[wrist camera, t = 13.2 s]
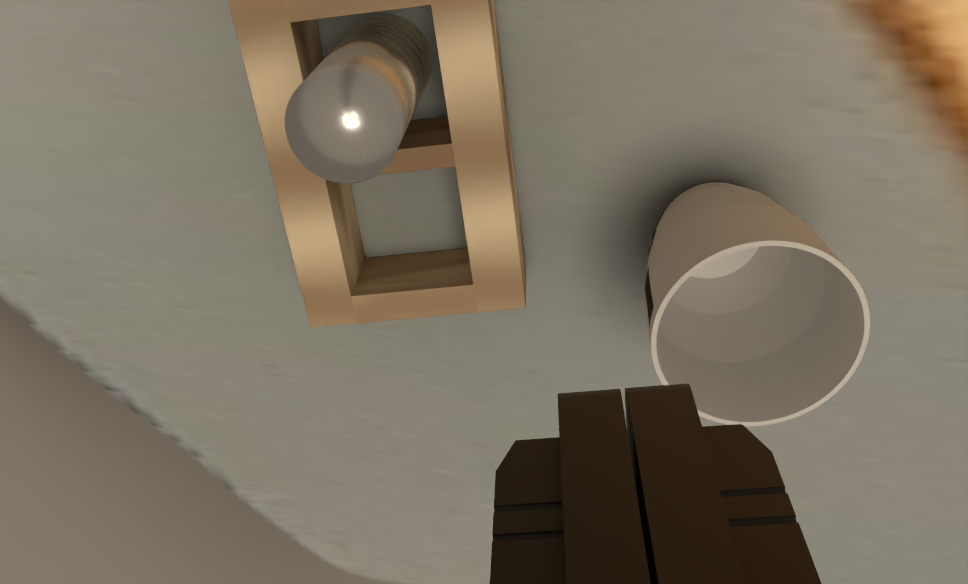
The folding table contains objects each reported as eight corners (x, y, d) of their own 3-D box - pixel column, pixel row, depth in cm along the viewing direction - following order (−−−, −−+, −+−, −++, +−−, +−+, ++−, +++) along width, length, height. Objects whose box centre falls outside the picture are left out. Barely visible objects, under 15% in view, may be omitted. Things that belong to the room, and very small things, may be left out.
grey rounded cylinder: (334, 19, 39) (272, 77, 30) (424, 9, 39) (389, 64, 30) (351, 109, 41) (297, 188, 32) (437, 100, 41) (408, 178, 32)
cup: (598, 197, 43) (615, 297, 34) (763, 119, 41) (829, 204, 32) (667, 330, 46) (699, 454, 37) (823, 264, 44) (898, 378, 35)
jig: (254, -24, 39) (226, -8, 35) (487, -55, 38) (482, -41, 34) (327, 287, 45) (310, 327, 42) (526, 268, 44) (525, 307, 41)
